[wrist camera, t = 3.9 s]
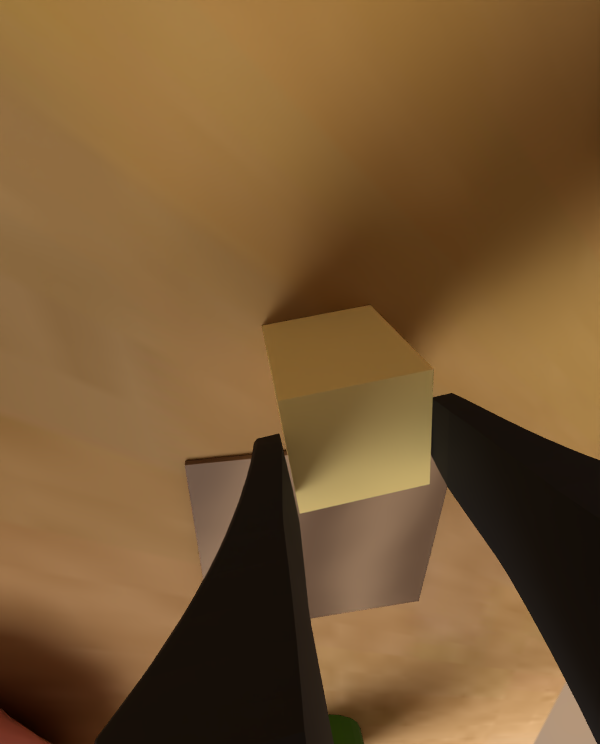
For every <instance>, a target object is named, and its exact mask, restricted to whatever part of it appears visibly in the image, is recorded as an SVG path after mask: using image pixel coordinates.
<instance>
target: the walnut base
mask: <svg viewBox="0 0 600 744" xmlns="http://www.w3.org/2000/svg"><path fill="white" fill-rule="evenodd" d="M284 455H285V459H286V463H287V467H288V471H289V476H290V480H291V484H292V488H293V493H294V497H295V502H296V507H297V512H298V517H299V522H300V530H301V539H302V549H303V558H304V568H305V577H306V587H307V597H308V606H309V613H310V618H316V617H323V616H329V615H335V614H341V613H347V612H353V611H359V610H366V609H372V608H378V607H384V606H390V605H396V604H403V603H409V602H415V601H419V598H420V594H421V590H422V586H423V582H424V578H425V574H426V570H427V566H428V562H429V558H430V554H431V550H432V546H433V542H434V538H435V534H436V530H437V526H438V522H439V518H440V514H441V510H442V506H443V502H444V498H445V494H446V490H447V485H446V483H445V481H444V479H443V478H442V476H441V474H440V472H439V470H438V468H437V466H436V464H435V462H434V460H433V458H432V456H431V460H430V484H428V485H424V486H419V487H415V488H411V489H406V490H402V491H397V492H393V493H389V494H384V495H380V496H375V497H371V498H367V499H362V500H358V501H354V502H349V503H345V504H340V505H336V506H332V507H327V508H323V509H319V510H314V511H310V512H305V513H301V514H300V512H299V508H298V503H297V498H296V493H295V488H294V483H293V479H292V474H291V469H290V464H289V459H288V454H287V451H284ZM251 458H252V454H251V455H241V456H230V457H220V458H210V459H200V460H189V461H185V469H186V476H187V482H188V488H189V494H190V500H191V506H192V513H193V519H194V525H195V531H196V537H197V543H198V550H199V556H200V562H201V568H202V574H203V579H204V578H205V576H206V574H207V572H208V570H209V568H210V566H211V564H212V562H213V560H214V558H215V556H216V554H217V552H218V550H219V548H220V546H221V543H222V541H223V539H224V537H225V535H226V532H227V530H228V527H229V525H230V522H231V520H232V517H233V515H234V512H235V510H236V507H237V504H238V502H239V499H240V496H241V493H242V490H243V486H244V483H245V480H246V477H247V473H248V470H249V466H250V462H251Z"/></svg>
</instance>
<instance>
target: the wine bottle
mask: <svg viewBox="0 0 600 744" xmlns="http://www.w3.org/2000/svg"><path fill="white" fill-rule="evenodd" d="M328 716H329V721H330V726H331V732H332V737H333V742H334V744H364V742H363V738H362V733H361V729H360V727H359V725H358V723H357V722H356V721H354V720H353V719H351V718H349V717H345V716H341V715H328Z"/></svg>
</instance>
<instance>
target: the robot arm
mask: <svg viewBox="0 0 600 744" xmlns="http://www.w3.org/2000/svg"><path fill="white" fill-rule="evenodd" d="M431 456H432V458H433V460H434V462H435V464H436V466H437V468H438V470H439V472H440V474H441V476H442V478H443V479H444V481H445V483H446V485H447V487H448V488H449V490H450V491H451V493H452V494H453V495H454V497H455V498H456V500H457V501H458V503H459V504H460V506H461V507H462V508H463V510H464V511H465V513H466V514H467V516H468V517H469V518H470V520H471V521H472V523H473V524H474V526H475V527H476V528H477V530H478V531H479V533H480V534H481V536H482V537H483V538H484V540H485V541H486V543H487V544H488V545H489V547H490V548H491V550H492V551H493V553H494V554H495V555H496V557H497V558H498V560H499V562H500V563H501V565H502V566H503V568H504V569H505V571H506V572H507V574H508V576H509V577H510V579H511V581H512V583H513V584H514V586H515V588H516V590H517V591H518V593H519V595H520V597H521V598H522V600H523V602H524V604H525V605H526V607H527V609H528V611H529V612H530V614H531V616H532V618H533V620H534V622H535V623H536V625H537V627H538V629H539V631H540V633H541V634H542V636H543V638H544V640H545V642H546V644H547V646H548V647H549V649H550V651H551V653H552V655H553V657H554V659H555V661H556V662H557V664H558V666H559V668H560V670H561V672H562V674H563V676H564V678H565V680H566V682H567V684H568V686H569V688H570V690H571V691H572V694H573V695H574V697H575V699H576V701H577V703H578V705H579V707H580V709H581V711H582V713H583V715H584V717H585V719H586V722H587V724H588V726H589V728H590V730H591V732H592V734H593V736H594V738H595V740H596V742H597V744H600V460H598V459H595V458H592V457H589V456H587V455H584V454H582V453H579V452H577V451H574V450H572V449H569V448H567V447H564V446H562V445H560V444H557V443H555V442H553V441H550V440H548V439H546V438H543V437H541V436H539V435H537V434H535V433H533V432H530V431H528V430H526V429H524V428H522V427H520V426H518V425H516V424H514V423H512V422H509V421H507V420H505V419H503V418H501V417H499V416H497V415H495V414H493V413H491V412H489V411H487V410H486V409H484V408H482V407H480V406H478V405H476V404H474V403H472V402H470V401H468V400H466V399H464V398H462V397H460V396H457V395H455V394H453V393H450V394H446V395H441V396H437V397H433V403H432V432H431ZM94 744H334V742H333V737H332V732H331V726H330V721H329V716H328V711H327V706H326V700H325V695H324V690H323V685H322V680H321V674H320V669H319V664H318V659H317V653H316V648H315V643H314V637H313V632H312V627H311V620H310V613H309V606H308V597H307V587H306V577H305V568H304V558H303V549H302V539H301V530H300V522H299V517H298V512H297V507H296V502H295V497H294V493H293V488H292V484H291V480H290V476H289V471H288V467H287V463H286V459H285V455H284V451H283V447H282V443H281V438H280V434H275V435H271V436H267V437H262V438H258V439H257V440H256V441H255V442H254V446H253V453H252V458H251V462H250V466H249V470H248V473H247V477H246V480H245V483H244V486H243V490H242V493H241V496H240V499H239V502H238V504H237V507H236V510H235V512H234V515H233V517H232V520H231V522H230V525H229V527H228V530H227V532H226V535H225V537H224V539H223V541H222V543H221V546H220V548H219V550H218V552H217V554H216V556H215V558H214V560H213V562H212V564H211V566H210V568H209V570H208V572H207V574H206V576H205V578H204V579H203V581H202V583H201V585H200V587H199V588H198V590H197V592H196V594H195V596H194V597H193V599H192V601H191V603H190V604H189V606H188V608H187V609H186V611H185V613H184V614H183V616H182V618H181V619H180V621H179V622H178V624H177V625H176V627H175V629H174V630H173V632H172V633H171V635H170V636H169V638H168V639H167V641H166V642H165V644H164V645H163V647H162V648H161V650H160V651H159V653H158V655H157V656H156V658H155V659H154V661H153V662H152V664H151V665H150V666H149V668H148V669H147V671H146V672H145V674H144V675H143V676H142V678H141V679H140V681H139V682H138V683H137V685H136V686H135V687H134V689H133V690H132V691H131V693H130V694H129V695H128V697H127V698H126V699H125V701H124V702H123V703H122V705H121V706H120V707H119V709H118V710H117V711H116V713H115V714H114V716H113V717H112V718H111V720H110V721H109V722H108V724H107V725H106V726H105V728H104V729H103V730H102V731H101V733H100V734H99V735H98V737H97V738H96V740H95V743H94Z"/></svg>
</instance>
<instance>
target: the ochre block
mask: <svg viewBox="0 0 600 744" xmlns="http://www.w3.org/2000/svg"><path fill="white" fill-rule="evenodd" d="M262 330H263V335H264V340H265V345H266V350H267V355H268V360H269V365H270V370H271V375H272V380H273V385H274V390H275V395H276V400H277V406H278V411H279V416H280V421H281V425H282V430H283V435H284V440H285V445H286V450H287V454H288V459H289V464H290V469H291V474H292V479H293V483H294V488H295V493H296V498H297V503H298V508H299V512H300V514H301V513H305V512H310V511H314V510H319V509H323V508H327V507H332V506H336V505H340V504H345V503H349V502H354V501H358V500H362V499H367V498H371V497H375V496H380V495H384V494H389V493H393V492H397V491H402V490H406V489H411V488H415V487H419V486H424V485H428V484H430V460H431V432H432V403H433V375H434V369H433V368H432V367H431V366H430V365H429V364H428V363H427V362H426V361H425V360H424V359H423V358H422V357H421V356H420V355H419V354H418V353H417V352H416V351H415V350H414V349H413V348H412V347H411V346H410V345H409V344H408V343H407V342H406V341H405V340H404V339H403V338H402V337H401V335H400V334H399V333H398V332H397V331H396V330H395V329H394V328H393V327H392V326H391V325H390V324H389V323H388V322H387V321H386V320H385V319H384V318H383V317H382V316H381V315H380V314H379V313H378V312H377V311H376V310H375V309H374V308H373V307H372V306H371V305H367V306H362V307H357V308H352V309H346V310H341V311H336V312H330V313H325V314H320V315H315V316H309V317H304V318H299V319H294V320H288V321H283V322H278V323H273V324H267V325H262Z"/></svg>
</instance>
